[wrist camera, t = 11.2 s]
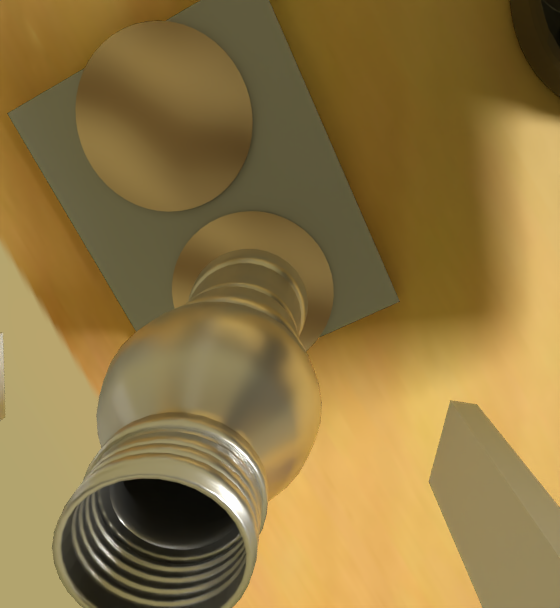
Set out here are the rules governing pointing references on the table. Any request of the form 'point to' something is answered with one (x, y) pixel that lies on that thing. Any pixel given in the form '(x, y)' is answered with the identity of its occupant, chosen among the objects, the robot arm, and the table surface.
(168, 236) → the board
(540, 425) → the table surface
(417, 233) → the table surface
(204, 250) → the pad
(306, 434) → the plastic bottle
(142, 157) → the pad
